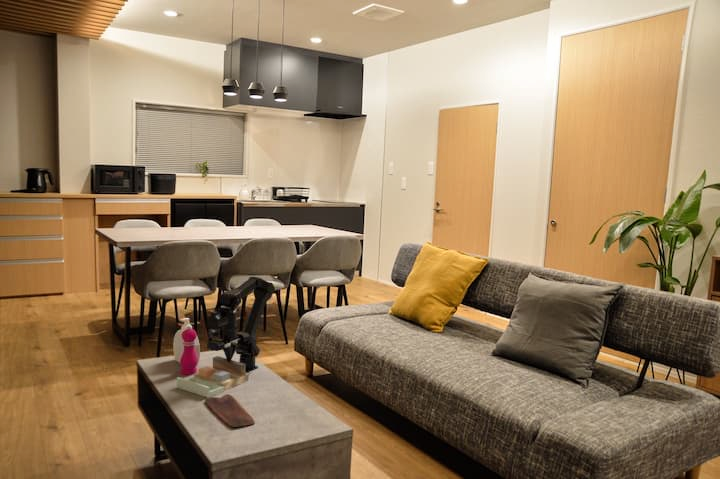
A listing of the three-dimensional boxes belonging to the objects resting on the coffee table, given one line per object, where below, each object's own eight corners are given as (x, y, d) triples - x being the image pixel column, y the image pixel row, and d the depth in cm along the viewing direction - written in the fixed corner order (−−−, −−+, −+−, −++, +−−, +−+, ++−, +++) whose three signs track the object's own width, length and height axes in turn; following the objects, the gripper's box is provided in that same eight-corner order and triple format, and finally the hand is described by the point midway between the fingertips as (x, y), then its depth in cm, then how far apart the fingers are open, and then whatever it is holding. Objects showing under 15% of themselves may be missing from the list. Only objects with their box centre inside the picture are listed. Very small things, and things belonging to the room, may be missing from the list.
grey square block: (221, 376, 217) (221, 370, 217) (229, 378, 215) (229, 372, 215) (212, 379, 214) (212, 373, 213) (221, 382, 211) (221, 376, 211)
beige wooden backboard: (220, 372, 230) (220, 365, 230) (248, 381, 222) (248, 373, 222) (194, 381, 218) (194, 374, 218) (222, 391, 210) (222, 383, 210)
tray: (193, 381, 219) (193, 371, 218) (223, 391, 210) (223, 381, 209) (176, 387, 212) (177, 377, 211) (207, 398, 203) (207, 387, 203)
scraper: (217, 366, 228) (217, 356, 228) (245, 375, 220) (245, 364, 220) (212, 368, 226) (212, 357, 226) (241, 376, 218) (241, 365, 217)
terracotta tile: (207, 372, 222) (207, 366, 221) (215, 374, 219) (215, 368, 219) (198, 375, 218) (198, 369, 218) (206, 377, 215) (206, 371, 215)
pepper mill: (200, 370, 232) (201, 324, 230) (193, 376, 225) (194, 328, 223) (184, 368, 233) (184, 322, 231) (176, 374, 225) (177, 327, 223)
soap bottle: (172, 359, 244) (172, 315, 242) (183, 357, 247) (183, 314, 245) (188, 369, 232) (189, 323, 230) (200, 366, 236) (200, 321, 234)
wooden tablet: (257, 419, 183) (228, 422, 178) (256, 426, 183) (228, 429, 178) (230, 392, 205) (203, 394, 200) (229, 398, 205) (203, 400, 200)
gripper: (231, 316, 233) (231, 351, 235) (197, 325, 217) (197, 363, 219) (250, 320, 227) (250, 356, 229) (217, 330, 211) (217, 369, 213)
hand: (228, 361), depth 223 cm, fingers closed, pressing on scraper
